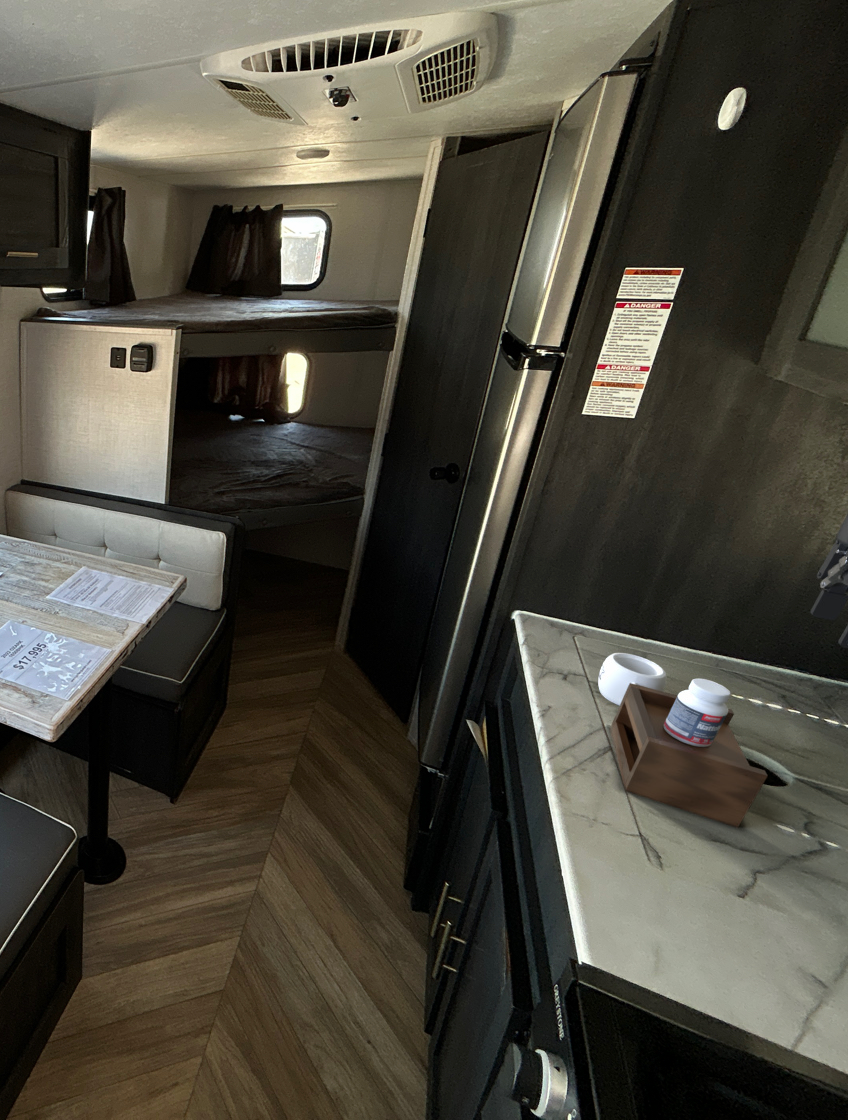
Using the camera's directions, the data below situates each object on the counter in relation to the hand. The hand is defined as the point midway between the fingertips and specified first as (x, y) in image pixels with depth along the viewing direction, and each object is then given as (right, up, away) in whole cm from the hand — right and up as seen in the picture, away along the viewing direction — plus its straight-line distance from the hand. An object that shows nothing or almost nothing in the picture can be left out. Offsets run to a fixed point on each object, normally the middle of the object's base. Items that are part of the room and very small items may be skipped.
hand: (835, 632), depth 79 cm
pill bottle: (-4, -18, +14) cm, 24 cm away
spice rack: (-4, -25, +17) cm, 31 cm away
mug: (+3, -19, +33) cm, 38 cm away
